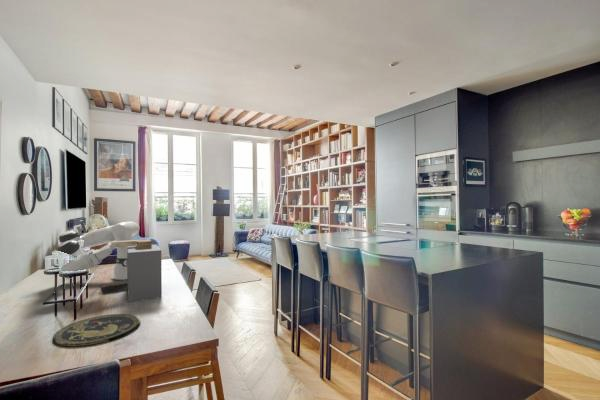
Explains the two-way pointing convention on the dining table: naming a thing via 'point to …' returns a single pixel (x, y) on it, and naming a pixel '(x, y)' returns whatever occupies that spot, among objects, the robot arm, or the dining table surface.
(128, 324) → the decorative plate
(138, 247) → the walnut offcuts
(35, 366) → the dining table surface
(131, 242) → the birch lath
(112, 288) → the tablet
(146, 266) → the grey upright box
